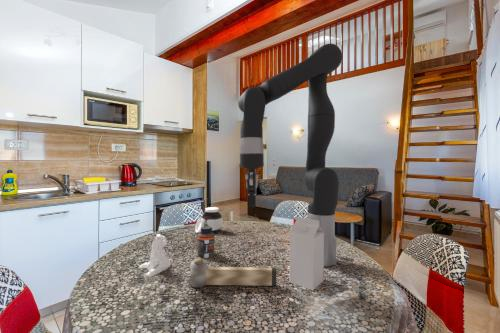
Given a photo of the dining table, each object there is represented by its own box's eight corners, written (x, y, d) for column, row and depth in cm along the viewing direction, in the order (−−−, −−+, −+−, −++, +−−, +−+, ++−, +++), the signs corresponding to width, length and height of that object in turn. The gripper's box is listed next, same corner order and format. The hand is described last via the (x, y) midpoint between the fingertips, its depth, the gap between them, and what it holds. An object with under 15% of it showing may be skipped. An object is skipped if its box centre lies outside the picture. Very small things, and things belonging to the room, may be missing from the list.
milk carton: (300, 277, 72) (301, 215, 72) (323, 284, 68) (324, 218, 68) (289, 286, 67) (289, 219, 67) (312, 295, 62) (313, 223, 62)
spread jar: (224, 230, 121) (224, 208, 121) (209, 236, 111) (209, 211, 111) (206, 227, 127) (206, 205, 127) (191, 232, 118) (191, 209, 118)
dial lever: (188, 287, 63) (188, 263, 63) (192, 279, 67) (192, 256, 67) (276, 288, 63) (277, 264, 62) (275, 280, 67) (275, 257, 67)
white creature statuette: (137, 270, 76) (137, 233, 76) (164, 263, 81) (164, 228, 81) (146, 282, 68) (146, 241, 68) (175, 273, 74) (175, 235, 74)
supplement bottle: (210, 262, 83) (211, 230, 82) (194, 260, 84) (195, 228, 84) (216, 255, 88) (216, 225, 88) (201, 254, 90) (201, 224, 90)
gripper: (263, 151, 69) (264, 211, 69) (263, 153, 82) (263, 203, 82) (237, 152, 69) (238, 211, 69) (241, 153, 82) (242, 203, 83)
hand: (252, 206), depth 76 cm, fingers closed
